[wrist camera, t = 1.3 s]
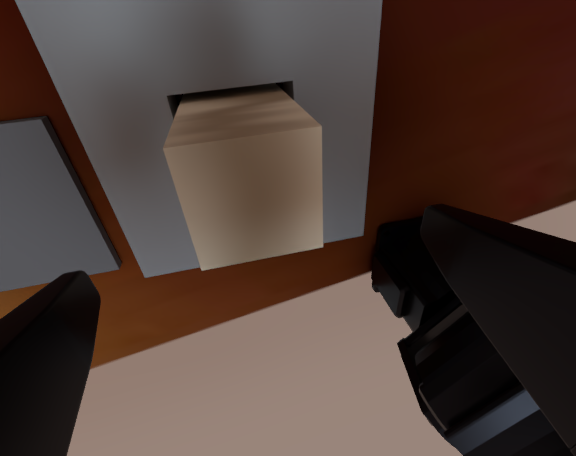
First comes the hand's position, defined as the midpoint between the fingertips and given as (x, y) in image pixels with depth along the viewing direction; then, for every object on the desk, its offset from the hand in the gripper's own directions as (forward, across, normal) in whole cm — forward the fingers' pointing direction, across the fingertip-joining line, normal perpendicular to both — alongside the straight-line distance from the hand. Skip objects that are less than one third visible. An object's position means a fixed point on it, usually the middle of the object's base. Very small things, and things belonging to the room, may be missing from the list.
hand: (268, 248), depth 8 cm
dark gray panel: (+10, +13, +2) cm, 17 cm away
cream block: (+10, 0, 0) cm, 10 cm away
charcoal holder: (+10, 0, 0) cm, 10 cm away
